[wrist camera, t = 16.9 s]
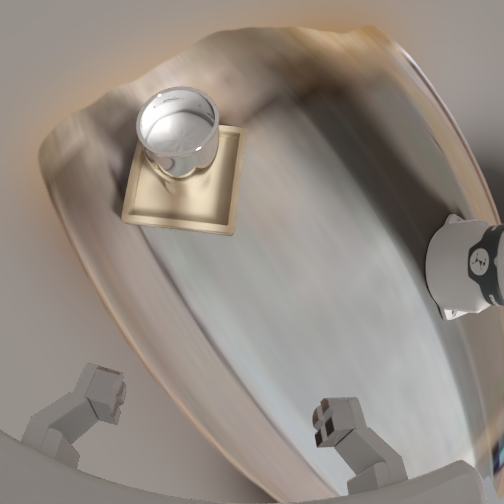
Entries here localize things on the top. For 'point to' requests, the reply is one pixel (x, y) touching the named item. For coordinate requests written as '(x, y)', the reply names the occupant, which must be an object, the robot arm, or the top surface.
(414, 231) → the top surface
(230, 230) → the oak tray
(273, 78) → the top surface
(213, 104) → the beer glass
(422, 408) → the top surface
